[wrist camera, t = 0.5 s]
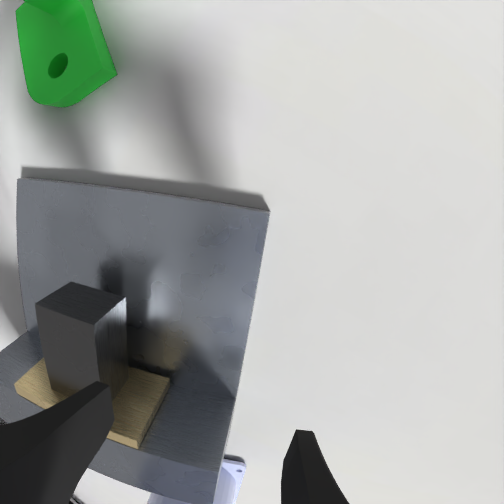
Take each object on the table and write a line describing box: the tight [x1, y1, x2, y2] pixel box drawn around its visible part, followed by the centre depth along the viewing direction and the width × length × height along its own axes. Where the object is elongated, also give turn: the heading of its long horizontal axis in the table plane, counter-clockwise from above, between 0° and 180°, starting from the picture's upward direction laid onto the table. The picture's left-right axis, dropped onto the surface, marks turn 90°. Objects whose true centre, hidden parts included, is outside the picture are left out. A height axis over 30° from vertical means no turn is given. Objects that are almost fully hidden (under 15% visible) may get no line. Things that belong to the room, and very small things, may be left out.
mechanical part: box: [16, 0, 117, 107], centre depth 12 cm, size 12×6×8 cm, turn 23°
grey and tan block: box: [14, 281, 170, 449], centre depth 17 cm, size 11×9×6 cm
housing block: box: [0, 178, 270, 504], centre depth 17 cm, size 18×18×8 cm
